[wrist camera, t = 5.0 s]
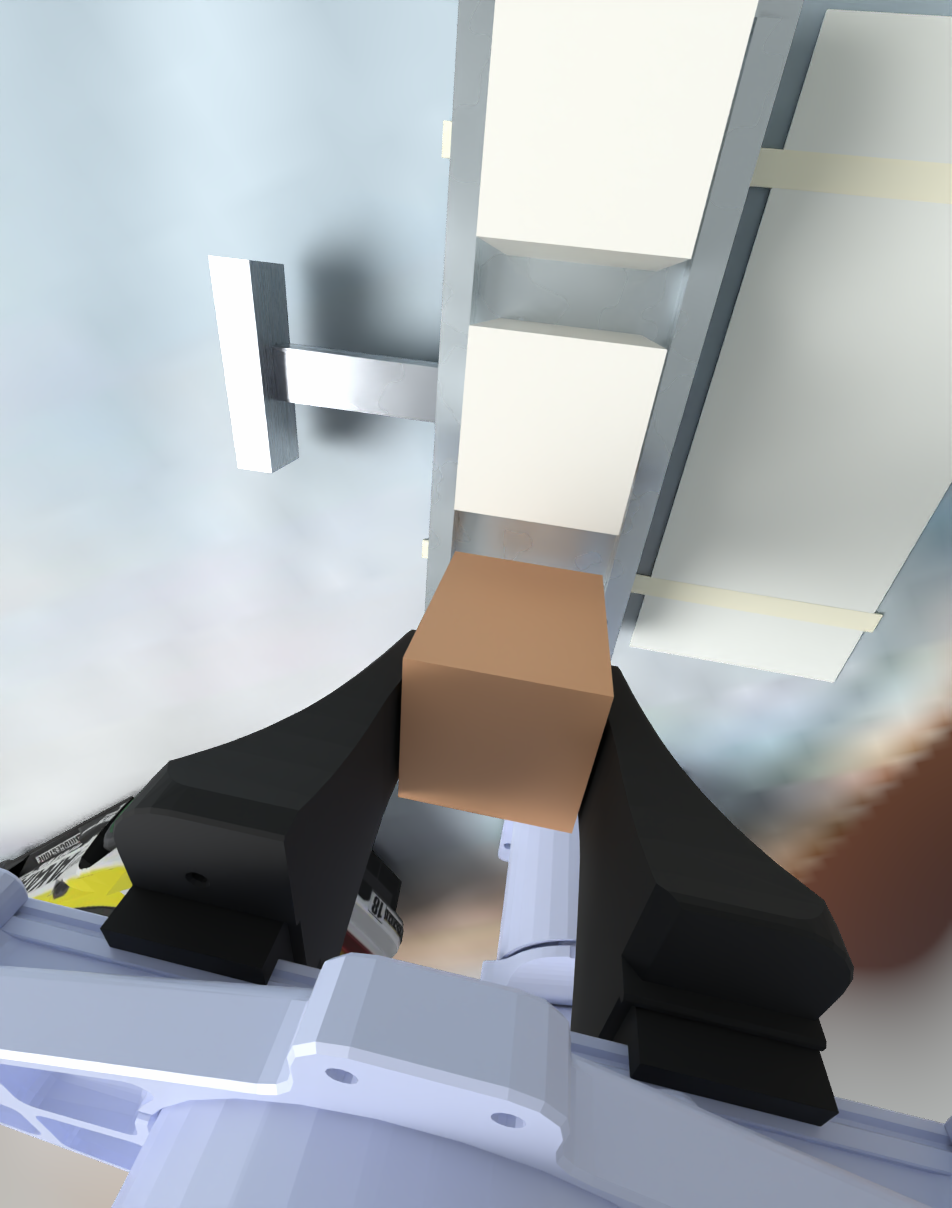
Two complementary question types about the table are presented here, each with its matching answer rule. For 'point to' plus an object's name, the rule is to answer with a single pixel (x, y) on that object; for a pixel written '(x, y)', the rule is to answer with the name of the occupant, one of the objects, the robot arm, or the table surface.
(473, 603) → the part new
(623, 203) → the part
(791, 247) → the track
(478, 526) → the beam with t-bracket
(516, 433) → the part
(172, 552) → the table surface
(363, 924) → the racing car
